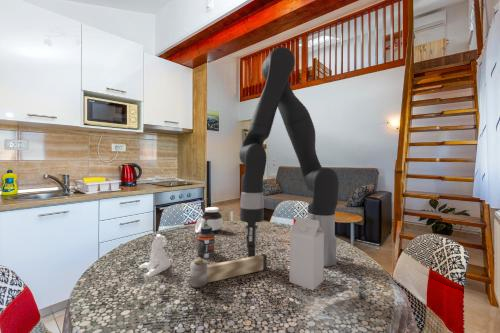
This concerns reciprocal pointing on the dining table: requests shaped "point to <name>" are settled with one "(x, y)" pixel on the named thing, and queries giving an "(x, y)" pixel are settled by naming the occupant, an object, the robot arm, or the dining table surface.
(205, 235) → the supplement bottle
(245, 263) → the dial lever
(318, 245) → the milk carton
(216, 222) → the spread jar
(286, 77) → the robot arm
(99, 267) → the dining table surface
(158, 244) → the white creature statuette
